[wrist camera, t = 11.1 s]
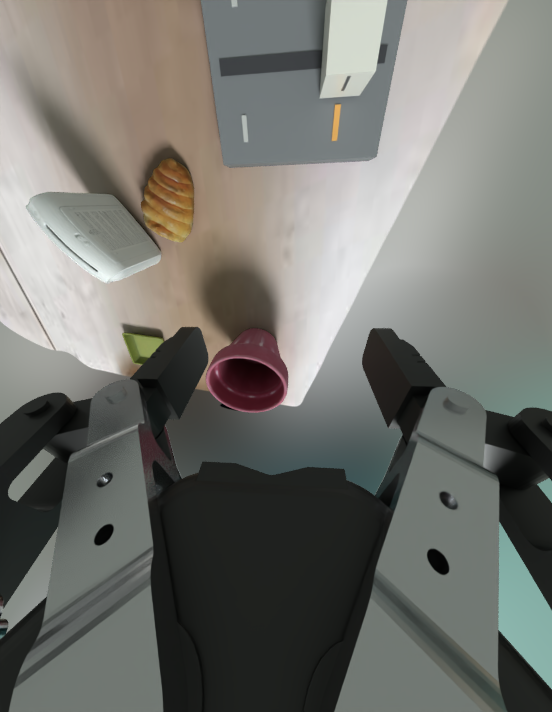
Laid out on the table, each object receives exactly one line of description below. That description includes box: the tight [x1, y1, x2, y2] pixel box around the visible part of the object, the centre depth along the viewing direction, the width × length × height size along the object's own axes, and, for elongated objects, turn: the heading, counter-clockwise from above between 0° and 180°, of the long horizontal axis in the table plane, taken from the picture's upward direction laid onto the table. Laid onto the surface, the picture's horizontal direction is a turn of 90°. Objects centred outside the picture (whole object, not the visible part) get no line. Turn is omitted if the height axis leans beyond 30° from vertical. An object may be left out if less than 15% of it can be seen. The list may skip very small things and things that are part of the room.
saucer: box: [122, 333, 164, 365], centre depth 46 cm, size 9×9×2 cm
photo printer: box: [26, 192, 161, 283], centre depth 28 cm, size 10×4×12 cm, turn 32°
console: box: [201, 0, 407, 168], centre depth 21 cm, size 18×14×3 cm
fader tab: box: [320, 0, 388, 98], centre depth 17 cm, size 4×5×5 cm
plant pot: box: [206, 328, 288, 412], centre depth 40 cm, size 14×14×13 cm
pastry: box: [141, 158, 194, 242], centre depth 28 cm, size 9×7×4 cm
